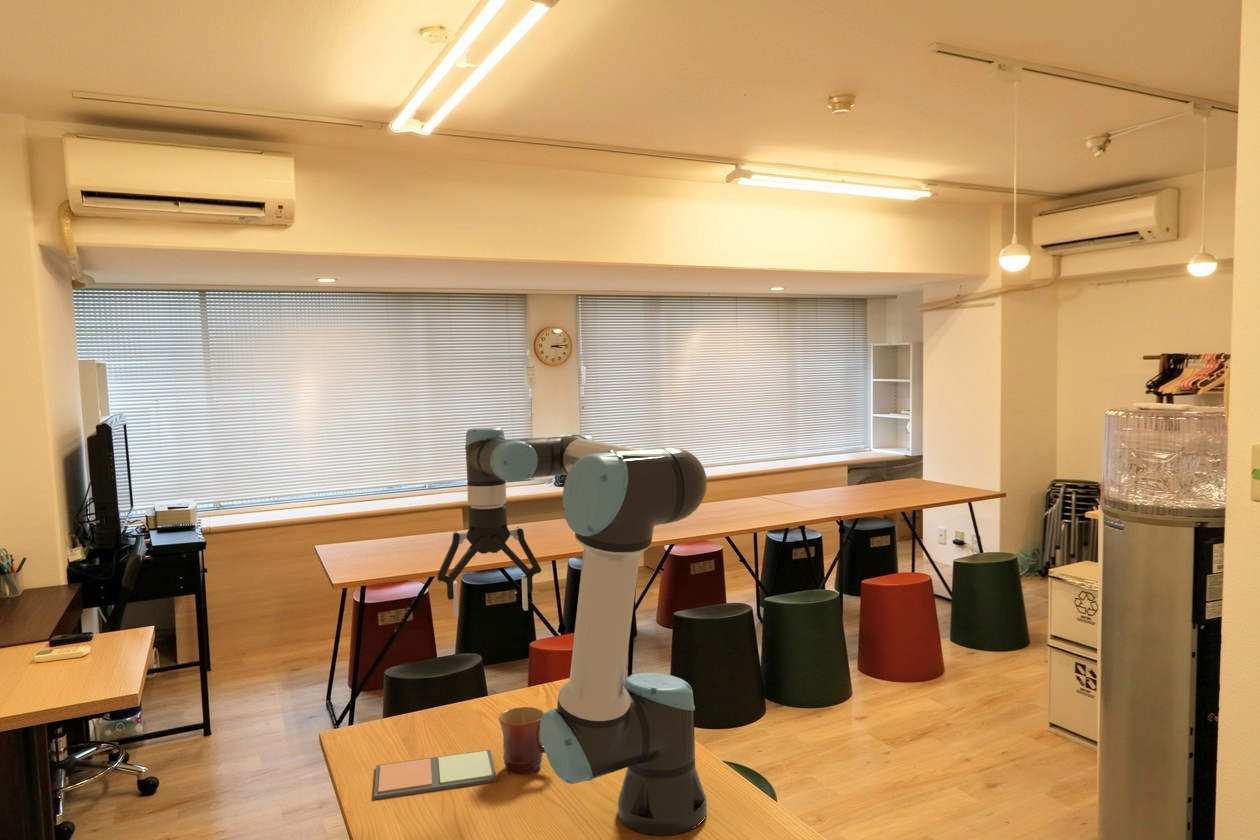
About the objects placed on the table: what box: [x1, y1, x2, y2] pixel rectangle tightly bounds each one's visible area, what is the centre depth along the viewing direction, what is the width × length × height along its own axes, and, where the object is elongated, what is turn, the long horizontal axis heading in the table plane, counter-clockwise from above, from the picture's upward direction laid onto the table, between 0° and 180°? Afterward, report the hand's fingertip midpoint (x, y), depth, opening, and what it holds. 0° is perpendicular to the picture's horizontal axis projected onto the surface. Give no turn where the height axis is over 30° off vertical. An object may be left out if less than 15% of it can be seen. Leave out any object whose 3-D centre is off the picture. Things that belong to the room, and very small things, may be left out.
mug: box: [498, 706, 546, 776], centre depth 162 cm, size 12×9×10 cm
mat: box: [373, 749, 498, 800], centre depth 160 cm, size 13×22×1 cm, turn 105°
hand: (491, 612), depth 167 cm, fingers open, 13 cm apart
